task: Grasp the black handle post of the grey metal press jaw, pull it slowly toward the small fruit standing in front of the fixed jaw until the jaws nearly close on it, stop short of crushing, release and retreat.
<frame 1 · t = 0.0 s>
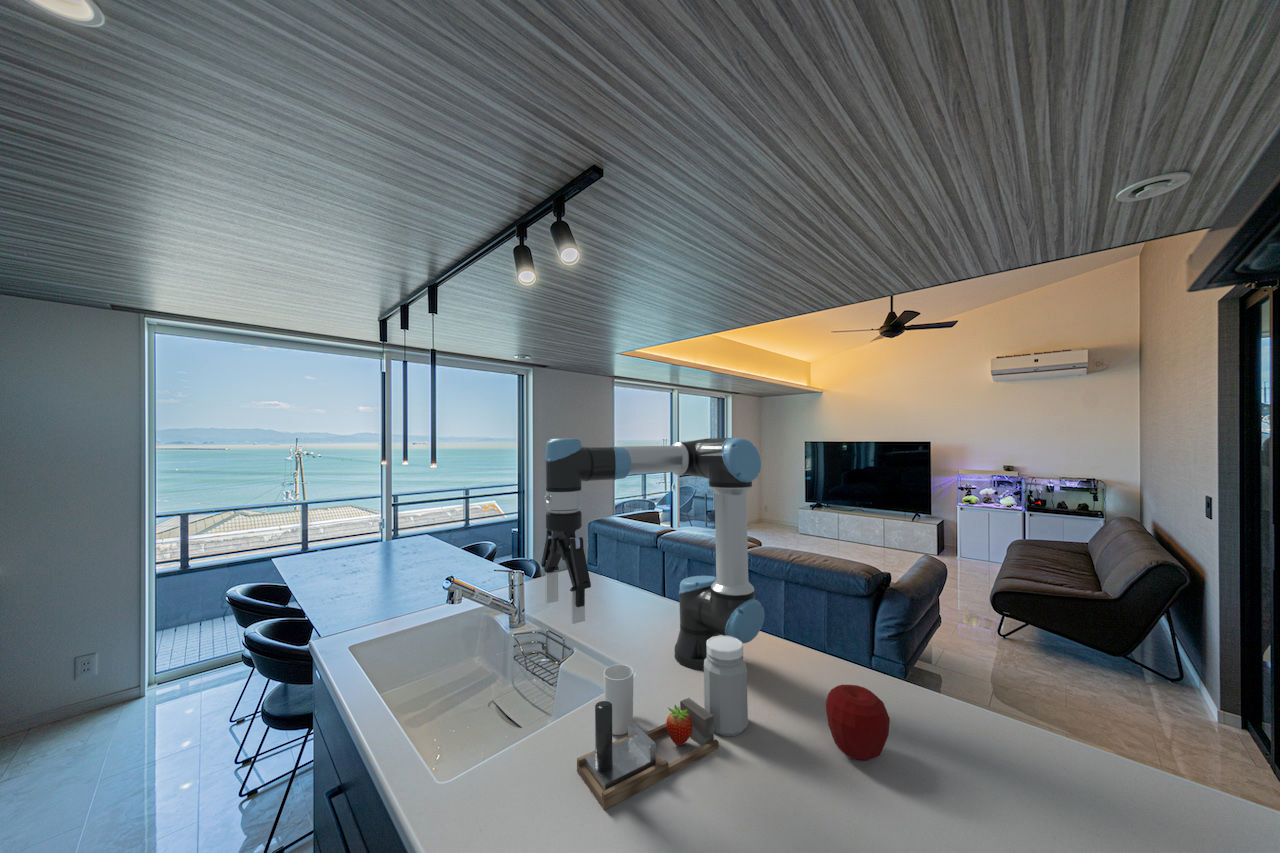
hand: (564, 611, 93), 28 cm above the worktop, fingers open, 13 cm apart
fruit: (679, 746, 92), resting on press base
apple: (857, 755, 89), on the worktop
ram: (619, 732, 84), point 8 cm above the worktop, slide at 0.0 cm
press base: (652, 758, 88), on the worktop
jar: (726, 725, 99), on the worktop
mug: (621, 723, 100), on the worktop
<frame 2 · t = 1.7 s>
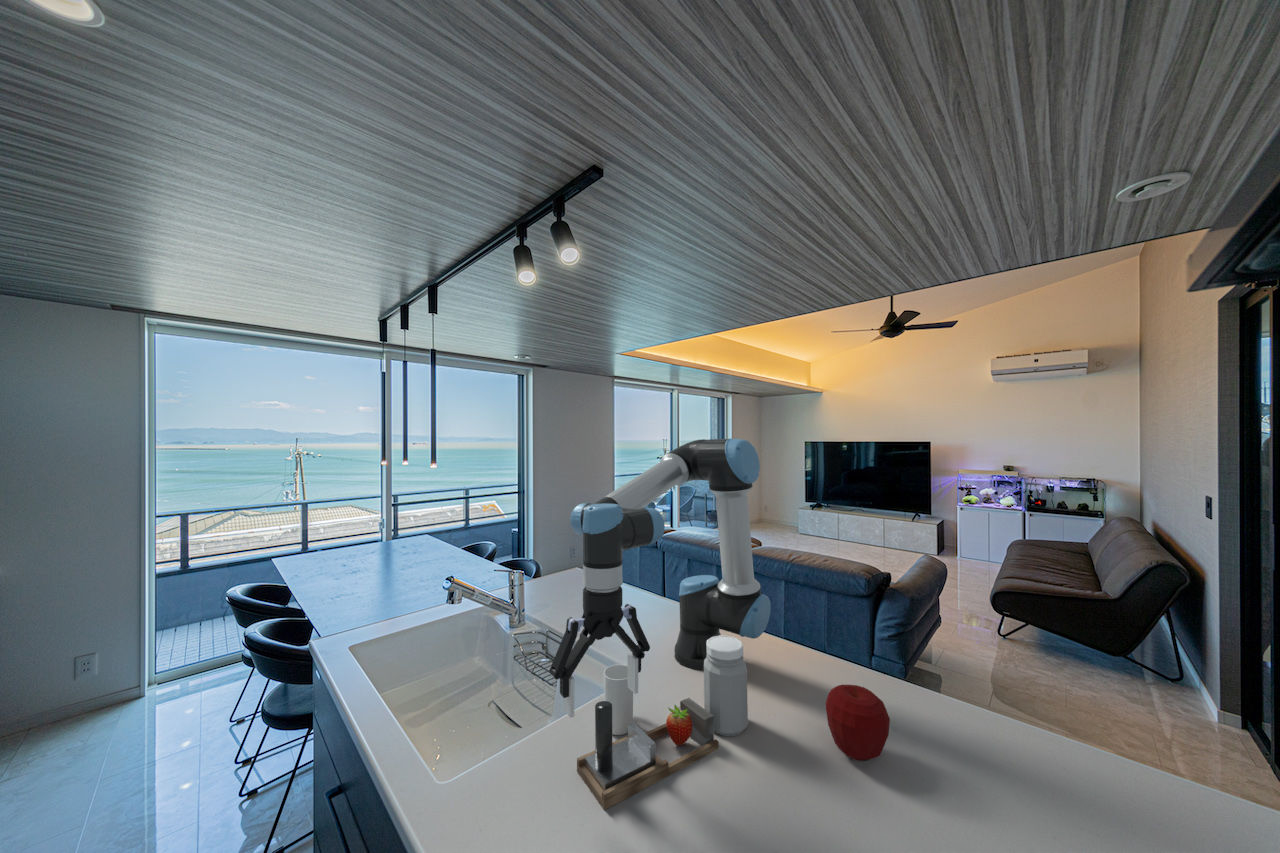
hand: (602, 701, 83), 15 cm above the worktop, fingers open, 13 cm apart
nothing on the worktop moved.
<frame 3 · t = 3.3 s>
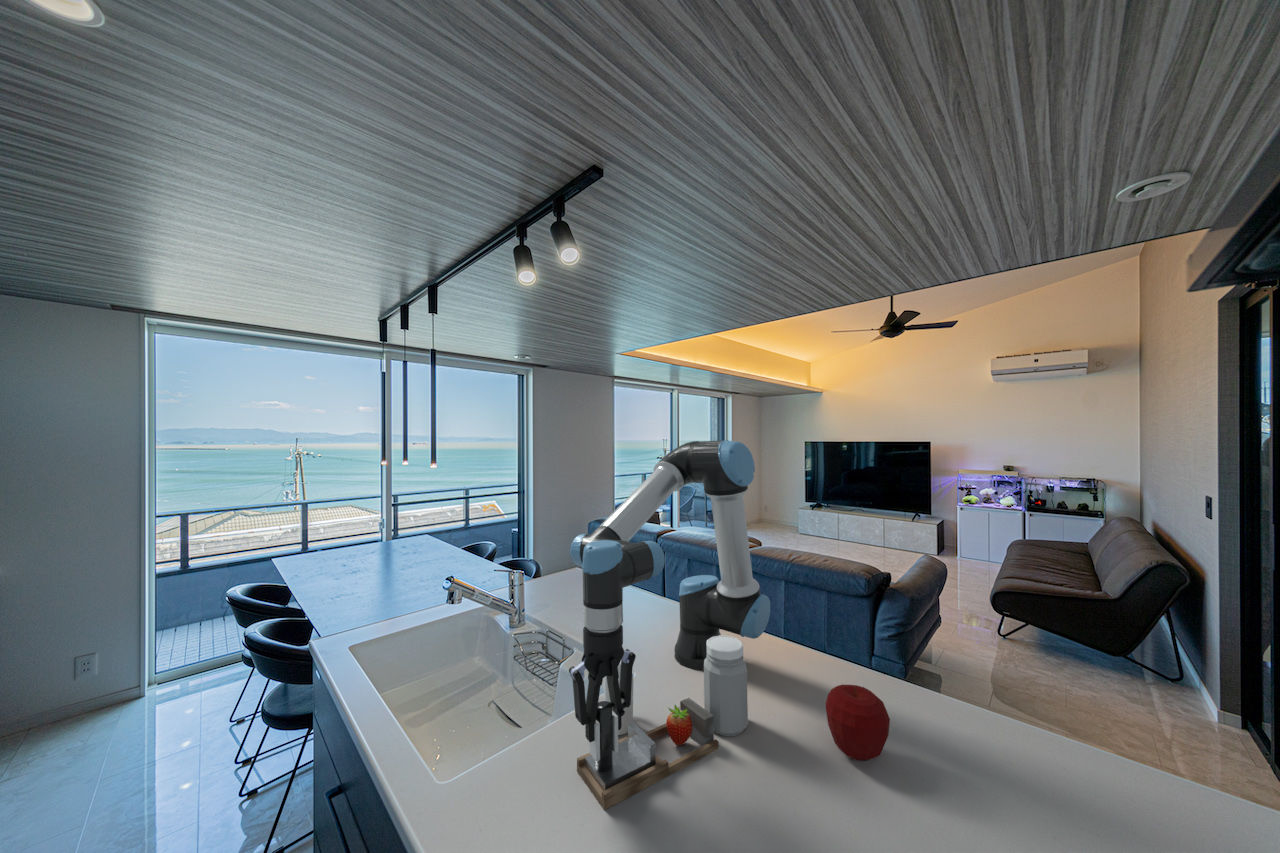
hand: (603, 751, 82), 6 cm above the worktop, fingers closed on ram, 3 cm apart
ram: (619, 732, 84), point 8 cm above the worktop, slide at 0.0 cm, touching gripper
everything else where it was.
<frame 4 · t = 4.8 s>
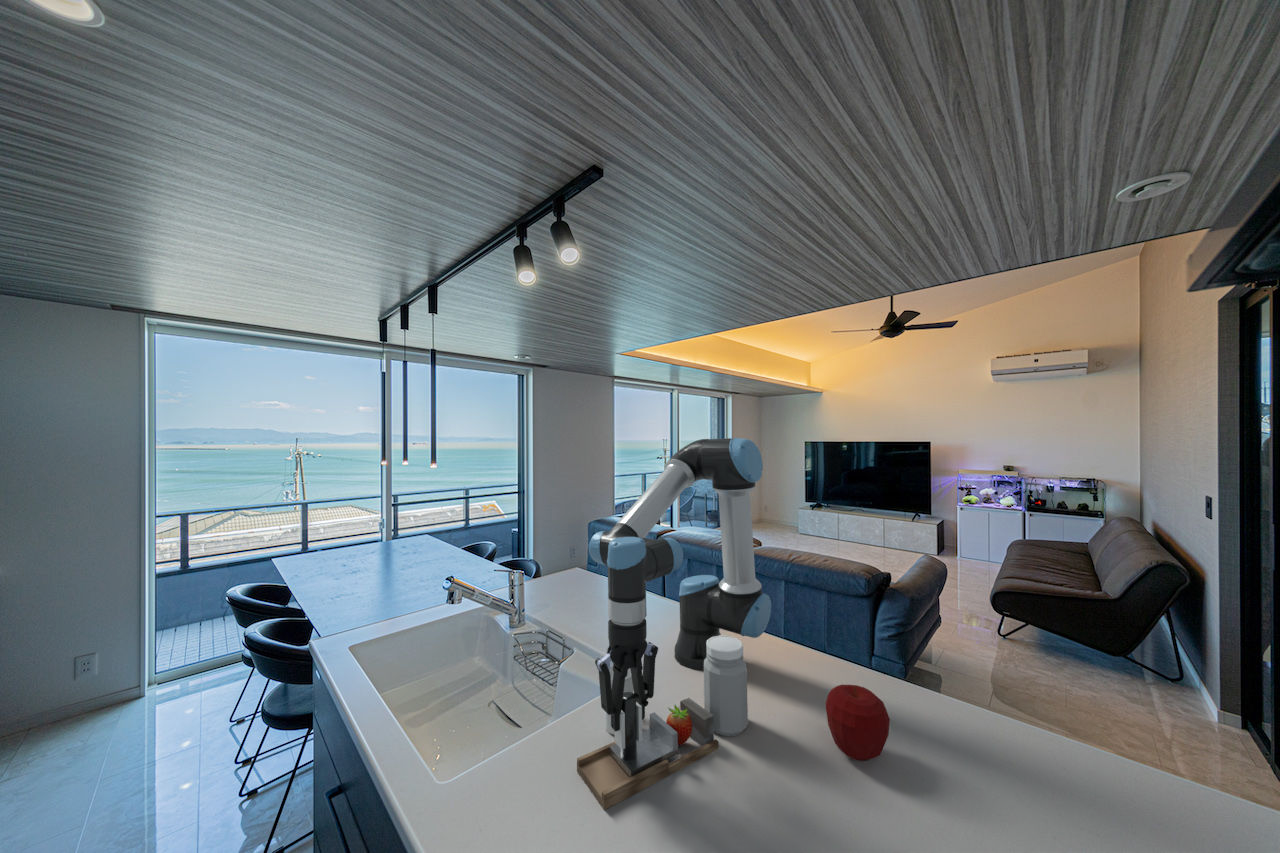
hand: (628, 741, 85), 6 cm above the worktop, fingers closed on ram, 3 cm apart
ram: (643, 722, 87), point 8 cm above the worktop, slide at 5.4 cm, touching gripper
everything else where it was.
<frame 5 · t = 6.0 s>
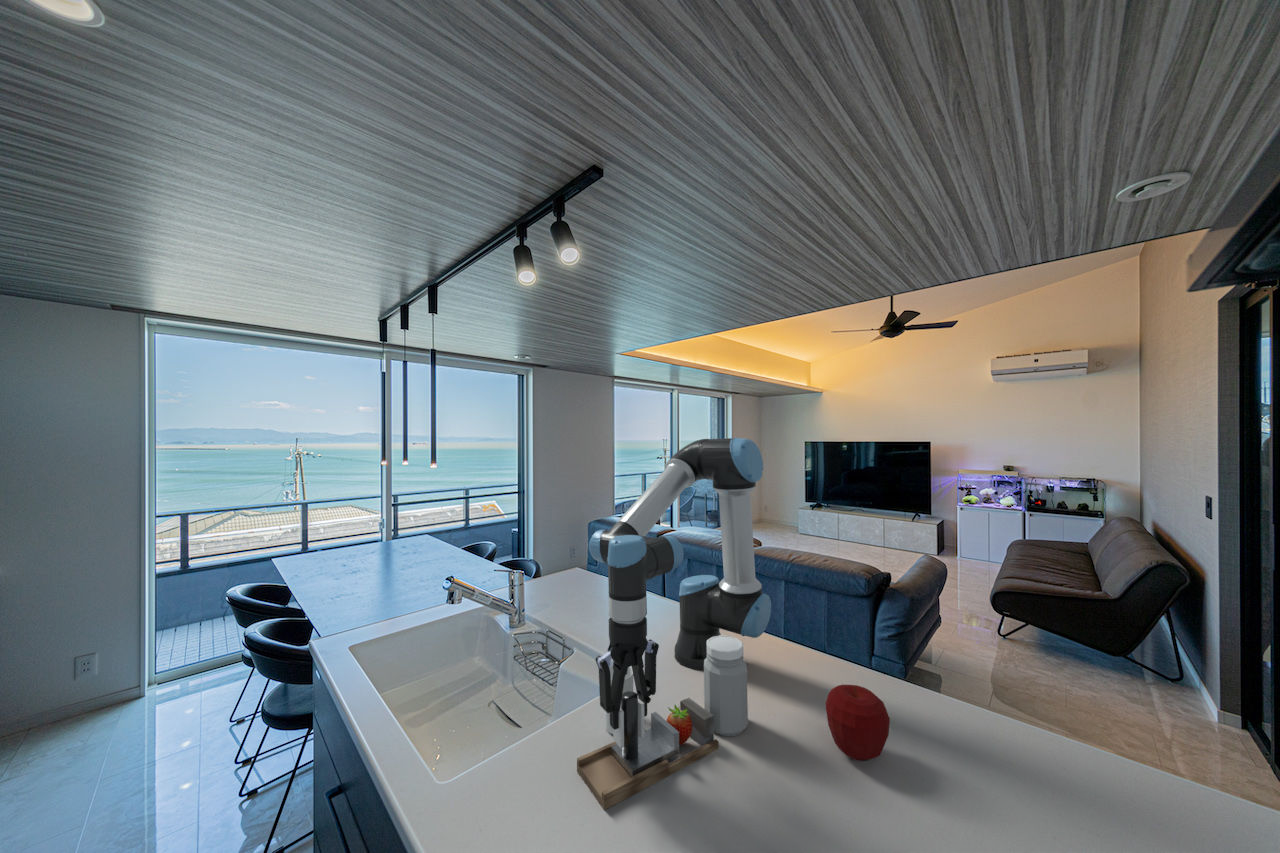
hand: (629, 738, 85), 6 cm above the worktop, fingers open, 4 cm apart
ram: (644, 721, 88), point 8 cm above the worktop, slide at 5.8 cm
everything else where it was.
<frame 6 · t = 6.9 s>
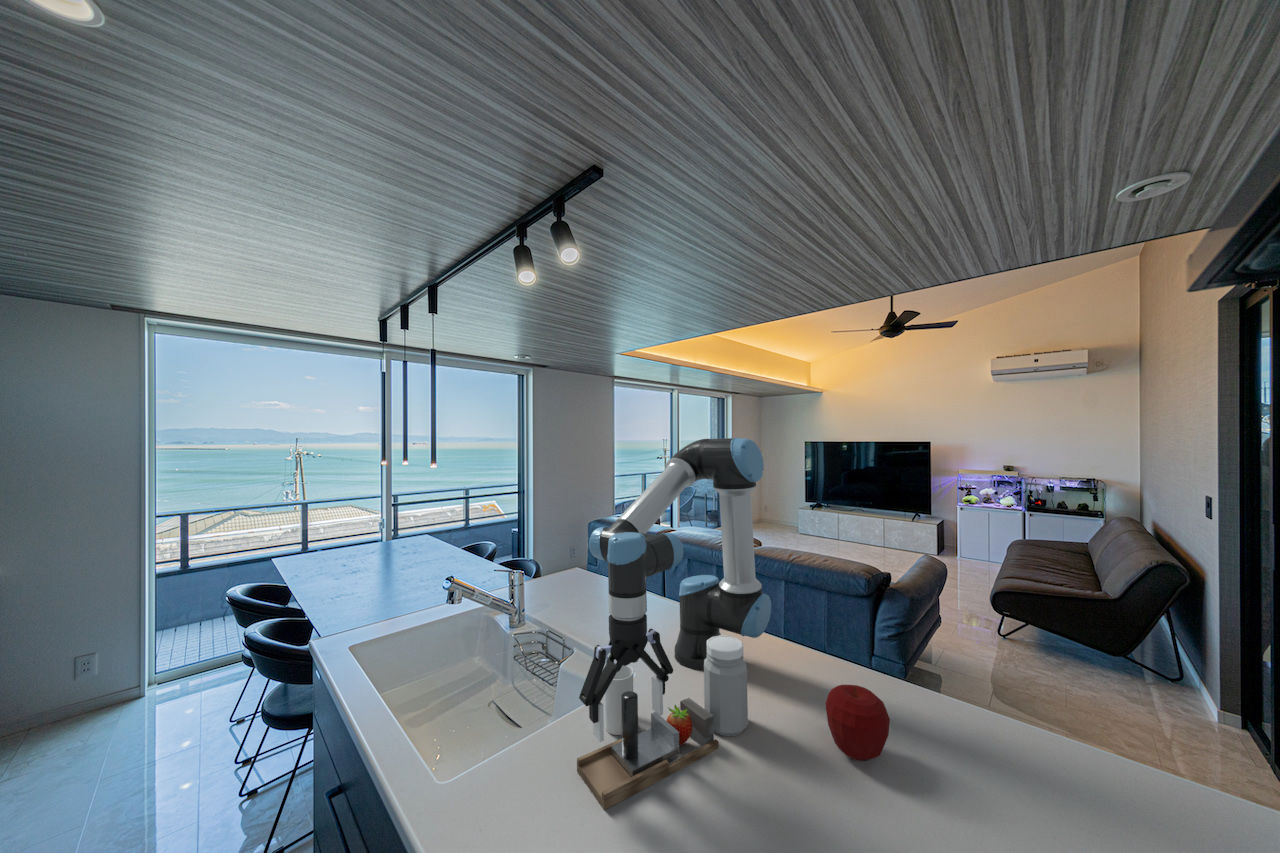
hand: (629, 724, 86), 9 cm above the worktop, fingers open, 13 cm apart
nothing on the worktop moved.
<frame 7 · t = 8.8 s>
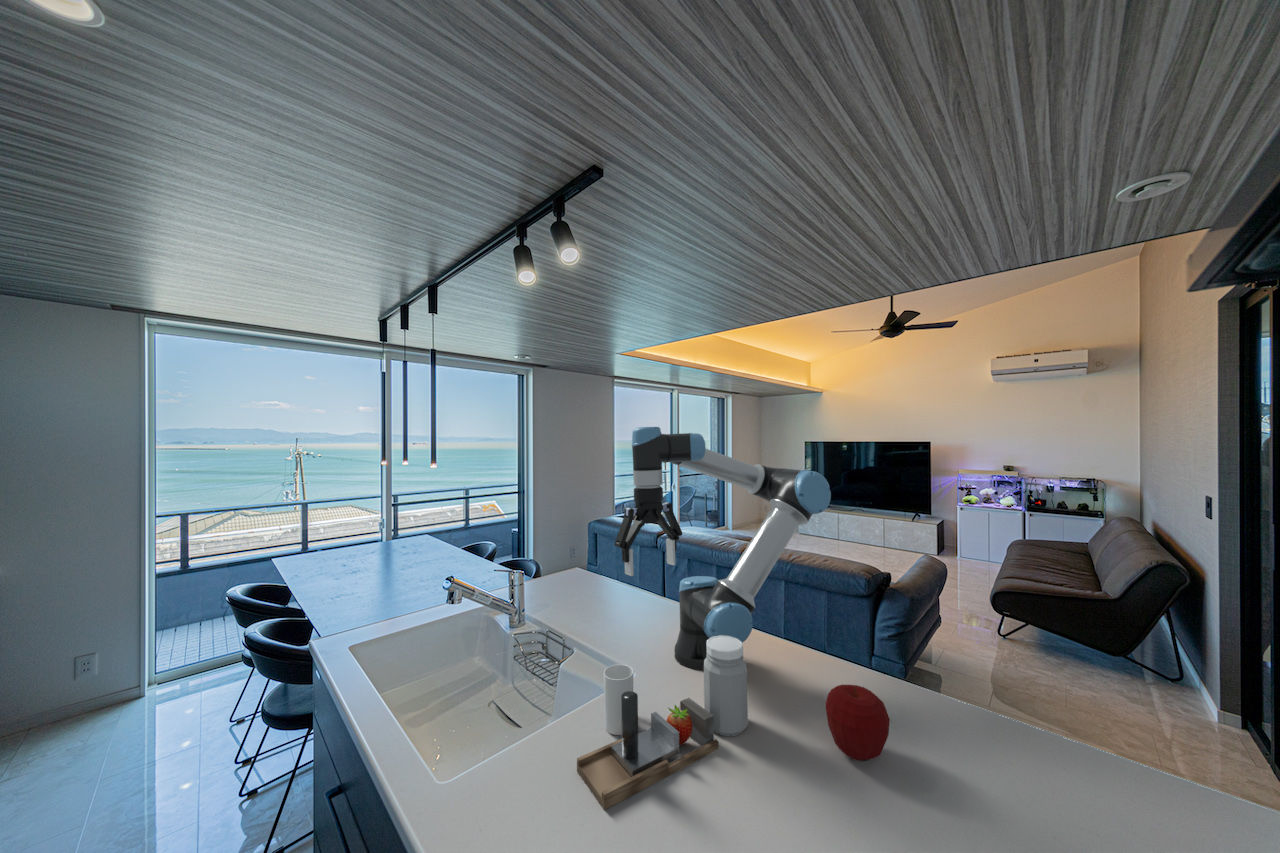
hand: (650, 569, 113), 31 cm above the worktop, fingers open, 13 cm apart
nothing on the worktop moved.
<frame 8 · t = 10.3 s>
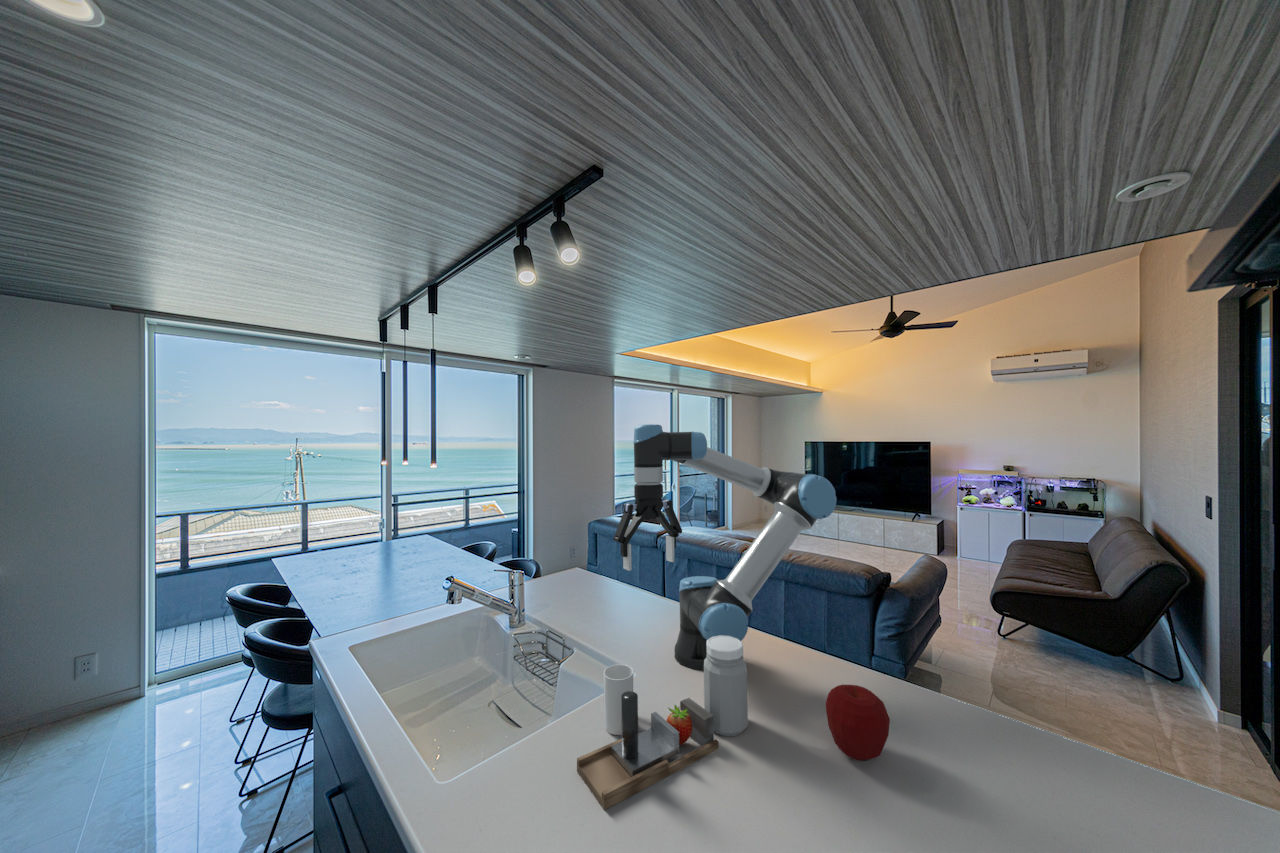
hand: (649, 565, 114), 32 cm above the worktop, fingers open, 13 cm apart
nothing on the worktop moved.
at the end: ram slide at 5.8 cm; fruit moved 0.2 cm from its start; the gripper is holding nothing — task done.
